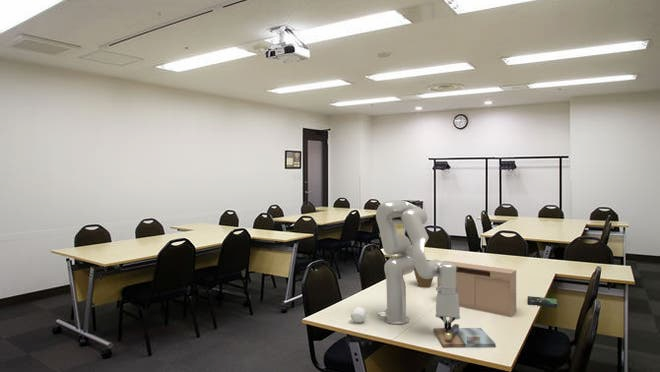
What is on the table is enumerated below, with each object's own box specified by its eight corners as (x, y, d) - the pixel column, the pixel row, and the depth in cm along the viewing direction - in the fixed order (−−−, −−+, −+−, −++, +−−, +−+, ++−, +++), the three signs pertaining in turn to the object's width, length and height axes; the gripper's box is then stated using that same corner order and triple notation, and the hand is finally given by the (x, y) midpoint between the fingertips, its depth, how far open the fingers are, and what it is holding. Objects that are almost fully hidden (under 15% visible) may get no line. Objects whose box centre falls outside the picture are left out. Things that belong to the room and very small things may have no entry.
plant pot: (434, 283, 278) (433, 259, 278) (437, 289, 263) (437, 264, 263) (411, 283, 280) (411, 259, 279) (413, 289, 265) (413, 264, 264)
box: (510, 317, 211) (510, 273, 210) (437, 302, 236) (436, 263, 236) (516, 312, 218) (516, 270, 218) (444, 298, 244) (444, 260, 243)
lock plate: (443, 347, 176) (443, 337, 176) (433, 331, 194) (433, 321, 194) (495, 347, 175) (495, 336, 175) (480, 331, 193) (480, 321, 193)
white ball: (357, 318, 213) (357, 303, 213) (369, 321, 208) (369, 306, 208) (347, 322, 207) (347, 307, 206) (360, 326, 202) (360, 310, 202)
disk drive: (527, 306, 230) (558, 308, 224) (527, 301, 230) (558, 303, 224) (527, 300, 240) (556, 303, 234) (527, 295, 240) (556, 298, 234)
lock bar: (450, 342, 177) (450, 335, 177) (444, 341, 178) (444, 333, 178) (459, 331, 189) (459, 324, 189) (453, 330, 190) (453, 323, 190)
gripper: (430, 291, 186) (430, 332, 187) (465, 294, 182) (465, 335, 182) (431, 287, 194) (431, 326, 194) (465, 289, 189) (465, 329, 190)
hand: (447, 330), depth 188 cm, fingers closed
